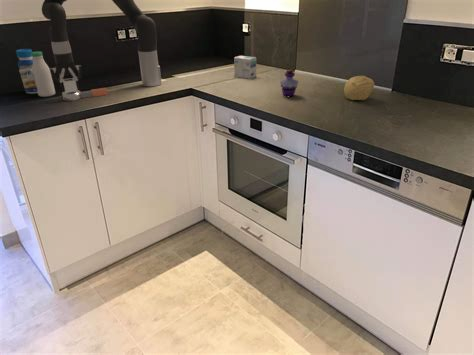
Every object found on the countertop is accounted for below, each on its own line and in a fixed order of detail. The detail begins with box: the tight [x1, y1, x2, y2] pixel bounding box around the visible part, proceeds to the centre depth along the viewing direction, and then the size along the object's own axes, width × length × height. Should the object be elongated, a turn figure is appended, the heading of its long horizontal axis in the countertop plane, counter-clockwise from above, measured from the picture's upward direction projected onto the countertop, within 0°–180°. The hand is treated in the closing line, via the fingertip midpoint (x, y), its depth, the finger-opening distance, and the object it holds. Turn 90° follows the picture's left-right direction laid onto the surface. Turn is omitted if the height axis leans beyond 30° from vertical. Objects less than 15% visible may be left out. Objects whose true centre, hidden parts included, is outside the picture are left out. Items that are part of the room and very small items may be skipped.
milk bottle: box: [31, 50, 56, 98], centre depth 180 cm, size 8×8×20 cm
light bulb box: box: [233, 55, 257, 80], centre depth 211 cm, size 11×7×11 cm, turn 58°
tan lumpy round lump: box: [343, 75, 375, 101], centre depth 172 cm, size 12×12×11 cm
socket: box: [63, 77, 79, 93], centre depth 176 cm, size 5×5×5 cm
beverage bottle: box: [15, 48, 38, 95], centre depth 185 cm, size 8×8×20 cm
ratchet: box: [61, 87, 109, 102], centre depth 180 cm, size 20×8×6 cm, turn 118°
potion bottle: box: [279, 69, 299, 98], centre depth 178 cm, size 9×9×12 cm
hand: (70, 89), depth 177 cm, fingers closed on socket, 5 cm apart
